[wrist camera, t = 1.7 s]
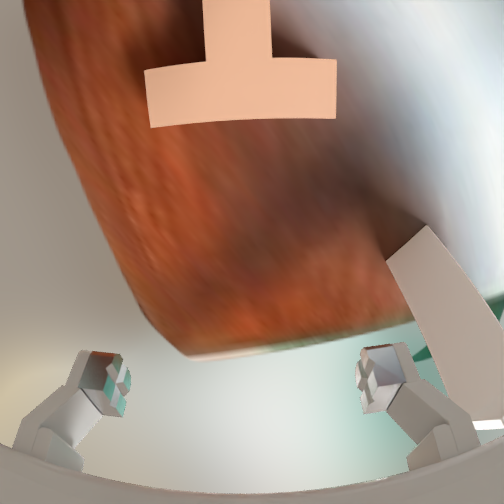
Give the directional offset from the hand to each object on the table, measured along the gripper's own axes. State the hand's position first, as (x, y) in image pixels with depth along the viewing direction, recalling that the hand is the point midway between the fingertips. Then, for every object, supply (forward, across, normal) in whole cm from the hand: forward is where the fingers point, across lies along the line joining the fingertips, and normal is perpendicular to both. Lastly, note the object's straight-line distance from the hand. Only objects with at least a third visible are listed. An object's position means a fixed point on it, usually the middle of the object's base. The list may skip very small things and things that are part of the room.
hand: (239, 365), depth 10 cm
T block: (+19, 0, -11) cm, 22 cm away
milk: (+19, -18, +10) cm, 28 cm away
